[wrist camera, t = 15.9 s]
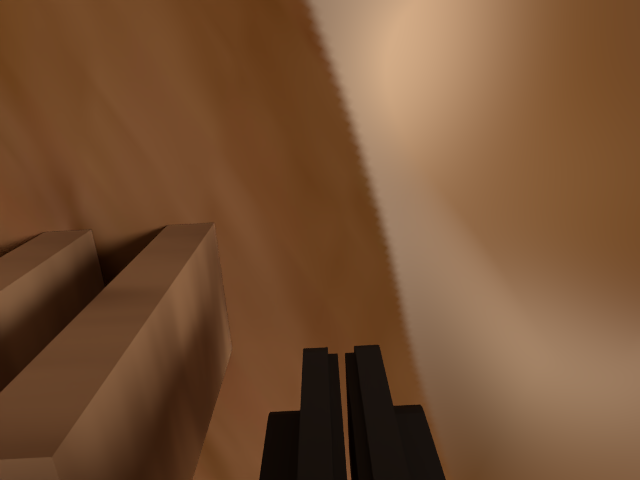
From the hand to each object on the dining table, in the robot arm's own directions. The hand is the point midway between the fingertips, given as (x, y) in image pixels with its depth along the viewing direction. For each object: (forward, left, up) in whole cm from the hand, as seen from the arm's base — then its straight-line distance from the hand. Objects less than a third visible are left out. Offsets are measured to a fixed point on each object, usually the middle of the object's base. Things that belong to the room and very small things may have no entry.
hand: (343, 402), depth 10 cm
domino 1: (0, +5, -6) cm, 8 cm away
